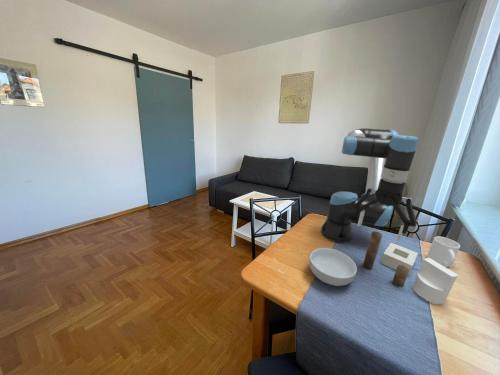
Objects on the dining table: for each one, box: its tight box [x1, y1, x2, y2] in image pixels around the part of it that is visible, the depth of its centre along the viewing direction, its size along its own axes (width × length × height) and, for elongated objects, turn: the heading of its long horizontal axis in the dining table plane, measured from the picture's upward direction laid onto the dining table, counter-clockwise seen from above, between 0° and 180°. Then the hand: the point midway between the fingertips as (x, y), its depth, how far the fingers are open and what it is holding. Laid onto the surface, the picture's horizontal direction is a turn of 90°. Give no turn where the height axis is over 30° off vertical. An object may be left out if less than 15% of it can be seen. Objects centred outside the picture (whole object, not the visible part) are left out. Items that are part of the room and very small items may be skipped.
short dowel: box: [391, 265, 409, 288], centre depth 75 cm, size 4×4×7 cm
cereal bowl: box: [308, 247, 358, 287], centre depth 78 cm, size 17×17×7 cm
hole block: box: [380, 242, 419, 277], centre depth 87 cm, size 10×12×5 cm
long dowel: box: [362, 230, 383, 271], centre depth 82 cm, size 4×4×16 cm
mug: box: [426, 235, 461, 268], centre depth 87 cm, size 12×8×10 cm
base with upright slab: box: [412, 257, 459, 305], centre depth 71 cm, size 9×9×12 cm
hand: (377, 232), depth 79 cm, fingers open, 13 cm apart
